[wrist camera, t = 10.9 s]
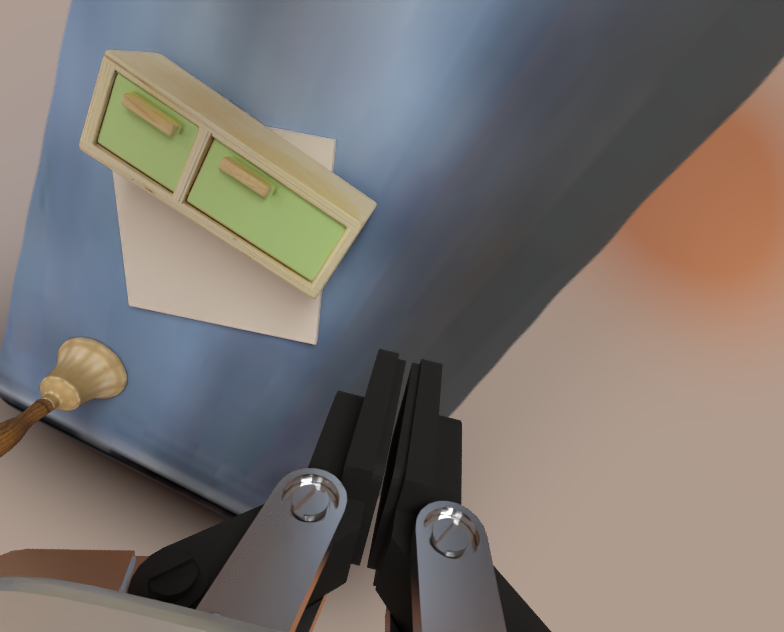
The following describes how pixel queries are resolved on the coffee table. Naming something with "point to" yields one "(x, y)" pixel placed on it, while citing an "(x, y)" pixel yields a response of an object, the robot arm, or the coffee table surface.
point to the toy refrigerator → (222, 168)
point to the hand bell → (69, 385)
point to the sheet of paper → (210, 265)
